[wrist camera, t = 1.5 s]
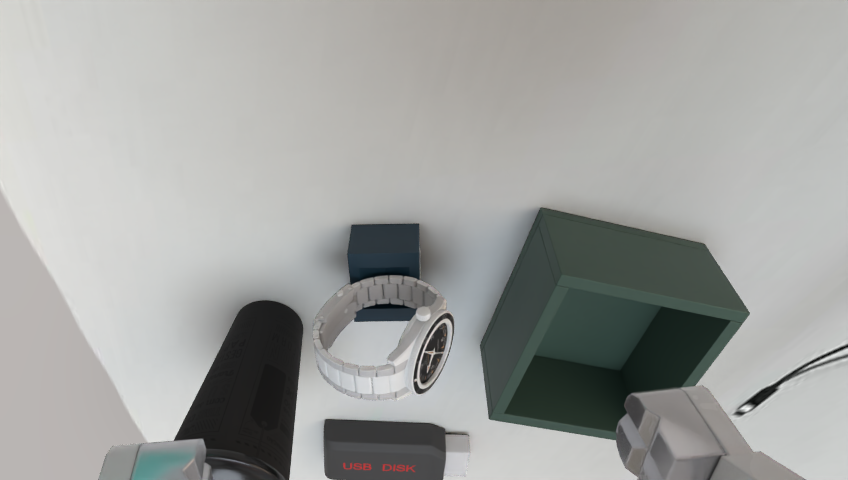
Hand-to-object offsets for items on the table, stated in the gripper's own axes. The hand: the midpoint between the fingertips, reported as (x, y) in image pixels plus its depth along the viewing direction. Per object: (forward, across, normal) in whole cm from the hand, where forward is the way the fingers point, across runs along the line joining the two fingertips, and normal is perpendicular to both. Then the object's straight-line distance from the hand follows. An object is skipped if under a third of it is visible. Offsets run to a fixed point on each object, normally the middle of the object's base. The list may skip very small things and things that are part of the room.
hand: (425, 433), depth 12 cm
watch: (+26, -2, +14) cm, 30 cm away
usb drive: (+26, -3, +34) cm, 43 cm away
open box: (+24, -16, +18) cm, 33 cm away
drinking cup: (+27, +6, +21) cm, 35 cm away
